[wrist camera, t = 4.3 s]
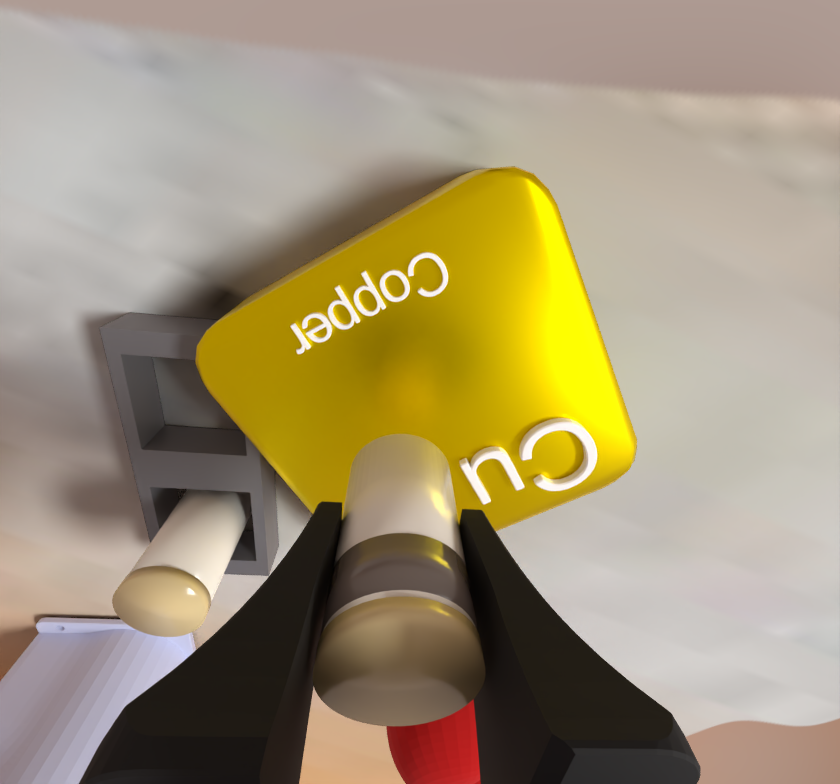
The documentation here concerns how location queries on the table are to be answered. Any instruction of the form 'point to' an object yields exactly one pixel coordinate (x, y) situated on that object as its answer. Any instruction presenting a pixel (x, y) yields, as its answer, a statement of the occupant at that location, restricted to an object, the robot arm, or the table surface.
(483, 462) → the element tile
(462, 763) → the light bulb
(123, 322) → the fuse block
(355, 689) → the fuse
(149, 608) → the cylinder
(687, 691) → the table surface
